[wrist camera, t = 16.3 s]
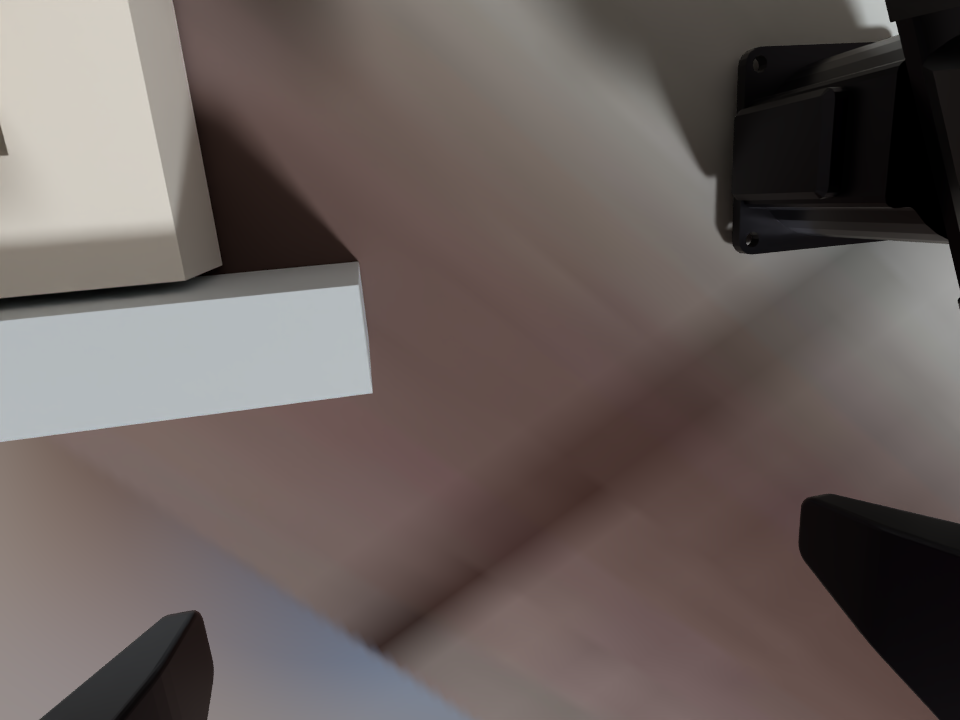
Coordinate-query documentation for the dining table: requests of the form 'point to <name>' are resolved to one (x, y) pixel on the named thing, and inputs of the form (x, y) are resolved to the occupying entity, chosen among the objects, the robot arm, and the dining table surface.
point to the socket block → (98, 149)
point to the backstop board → (181, 349)
